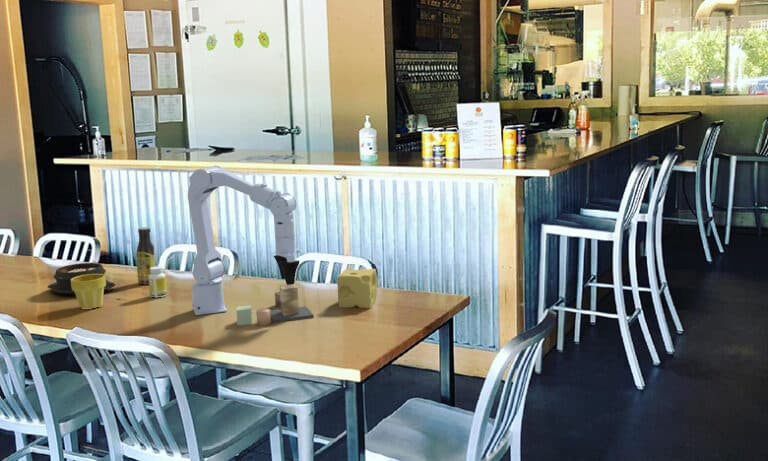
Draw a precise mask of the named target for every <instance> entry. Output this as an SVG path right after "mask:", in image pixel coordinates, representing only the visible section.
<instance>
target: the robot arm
mask: <svg viewBox="0 0 768 461" xmlns="http://www.w3.org/2000/svg"><path fill="white" fill-rule="evenodd" d="M220 187H228V188H230V189H233V190H235V191H238V192H240V193H242V194H245V195H247V196H249V198H250V201H251V202H253V203H254V204H257V205H259V206H262V207H263V208H265V209H268V210H269V211H270V213H271V214H272V216H273V223H274V238H275V240H274V241H275V251H274V252H275V255H273V258H274V260H275V262H276V263H277V264H276V265H277V267H278V270H279V271H278V272H279V274H280V277H281V280H285V285H291V284H295V280H296V273H297V269H298V266H300V260H295V256H296V254H297V253H300V252H301V250H300V249H299V248H296V237H295V236H296V231H295V229H296V228H295V215H294V211H295V210H296V208H297V200H296V198H295V197H294V196H293V195H292V194H290V193H289V192H286V193H282V192H281V190H276V189H273V188H271V187H269V186H268V184H267V183H265V182H262V183H261V182H259V183H256V184H253V183H251V182H249V181H247V180H245V179H244V178H242V177H240V176H238V175H236V174H234V173H233V172H230V170H228V168H223V167H221V166H219V165H213V166H209V167H205V168H198V169H195V170H194V172H193V173H192V174H191V175H190V176H189V186H188V190H187V201H188V207H189V213H190V218H191V224H192V229H193V236H194V241H195V246H196V254H195V257H194V258H193V260H192V261H193V268H192V277H193V280H194V281H195V282H196V283H193V284H191V296H192V297H191V298H192V303H191V306H192V309H193V312H194V315H196V316H200V315H208V314H217V313H223V312H224V313H225V312H227V311H228V309H227V308H226V305H225V301H224V300H225V299H224V287H223V286H224V284H223V279H224V278H223V276H224V275H225V274H226V271H227V270H226V269H227V267H226V264H225V262H224V260H223V258H222V254H221V253H220V252H219V250H217V249H216V243H215V238H214V232H213V228H212V226H213V225H212V221H211V215H210V209H209V203H208V198H209V197H210V196H211V194H212V193H213V192H214V191H215V190H217V189H218V188H220Z"/></svg>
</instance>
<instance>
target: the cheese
mask: <svg viewBox="0 0 768 461" xmlns="http://www.w3.org/2000/svg"><path fill="white" fill-rule="evenodd" d="M336 280H337V281H336V282H337V301H338V307H339V308H357V307H358V308H359V309H371V308H372V306H373V305H374V303H375V302H376V301H377V298H378V297H377V295H378V277H377V270H376V268H368V269H365V268H364V269H344V270H343V271H342V272H341V273H340V274H339V275H337V279H336Z"/></svg>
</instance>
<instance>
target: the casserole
mask: <svg viewBox="0 0 768 461" xmlns="http://www.w3.org/2000/svg"><path fill="white" fill-rule="evenodd" d="M106 272H107V269H105V268H104V266H103V264H101V263H96V262H82V263H74V264H73V263H72V264H69V265H64V266H61V267H59V268H57V269H56V270H55V273H54V275H53V277H52V278H54V280H55V281H56V282H54V283H50V284H48V285H47V289H51V290H52V291H53V292H55V293H60V294H64V293H65V294H64V295H68V294H75V292H74V291H73V290H72V287H71V279H72V278H74V277H77V276H81V275H87V274H103V275H105V273H106ZM115 286H116V283H114V282H111V281H109V280H107V279H106V286H105V287H104V291H106V290H109V289H112V288H113V287H115Z"/></svg>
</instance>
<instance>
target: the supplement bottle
mask: <svg viewBox="0 0 768 461" xmlns="http://www.w3.org/2000/svg"><path fill="white" fill-rule="evenodd" d="M163 270H164V267H163V266H161V265H160V266H158V265H157V266H155V267H151V268H150V273H151V274H150V275H149V284H148V286H149V295H150V298H151V297H162V298H164V296H165V297H167V296H168V289H167V288H168V286H167V279H166V274H165V273H164V271H163ZM166 295H167V296H166Z"/></svg>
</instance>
